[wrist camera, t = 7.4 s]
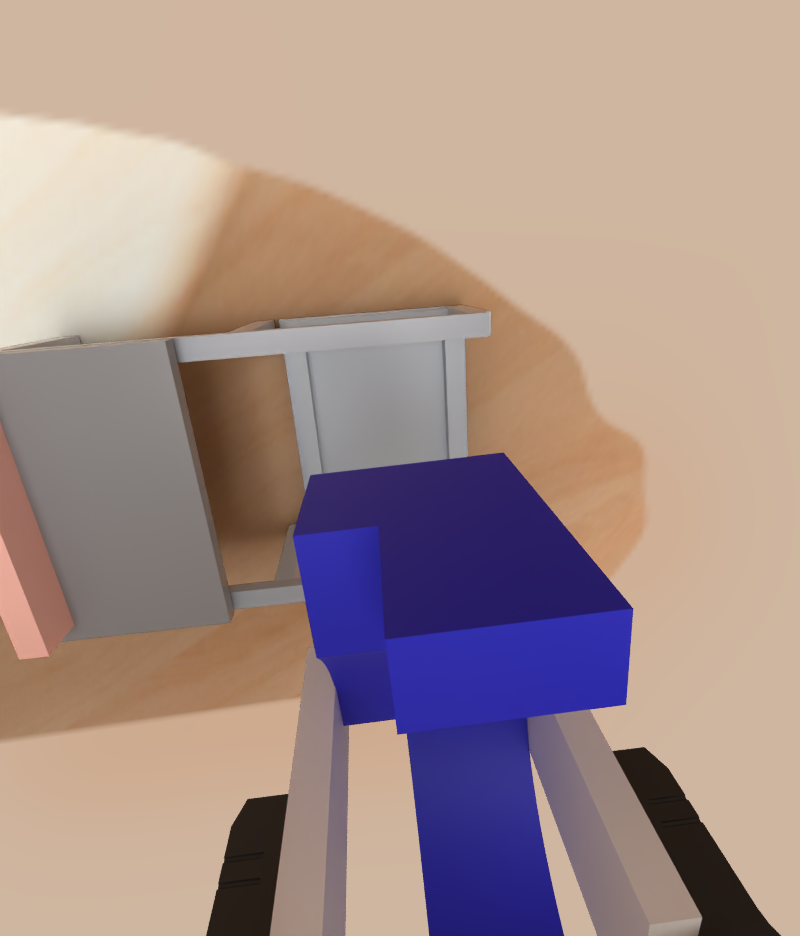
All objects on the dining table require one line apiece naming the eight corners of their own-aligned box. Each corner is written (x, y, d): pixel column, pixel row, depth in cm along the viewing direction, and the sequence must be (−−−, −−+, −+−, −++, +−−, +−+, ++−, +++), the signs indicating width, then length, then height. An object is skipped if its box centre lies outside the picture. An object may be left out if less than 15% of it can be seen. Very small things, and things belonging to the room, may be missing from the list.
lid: (62, 631, 30) (25, 674, 26) (-42, 356, 24) (-106, 367, 21) (234, 612, 30) (219, 652, 27) (172, 338, 24) (143, 347, 21)
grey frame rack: (125, 555, 38) (65, 628, 30) (59, 337, 32) (-38, 355, 24) (467, 520, 39) (496, 580, 31) (462, 304, 33) (494, 312, 25)
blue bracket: (310, 474, 12) (258, 655, 6) (503, 452, 12) (633, 608, 6) (372, 831, 16) (376, 1136, 10) (514, 812, 16) (596, 1103, 10)
